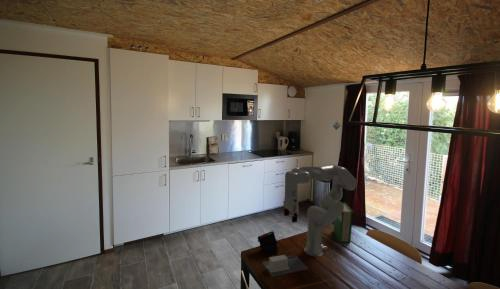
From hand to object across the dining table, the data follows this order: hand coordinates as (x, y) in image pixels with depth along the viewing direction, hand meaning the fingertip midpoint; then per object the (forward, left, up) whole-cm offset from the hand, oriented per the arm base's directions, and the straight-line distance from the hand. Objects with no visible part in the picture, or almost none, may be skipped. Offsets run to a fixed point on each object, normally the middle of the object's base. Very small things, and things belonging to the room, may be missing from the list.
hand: (290, 218), depth 157 cm
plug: (+8, +7, -26) cm, 28 cm away
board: (+6, +6, -27) cm, 29 cm away
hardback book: (-53, -15, -28) cm, 62 cm away
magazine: (+10, -11, -28) cm, 31 cm away
